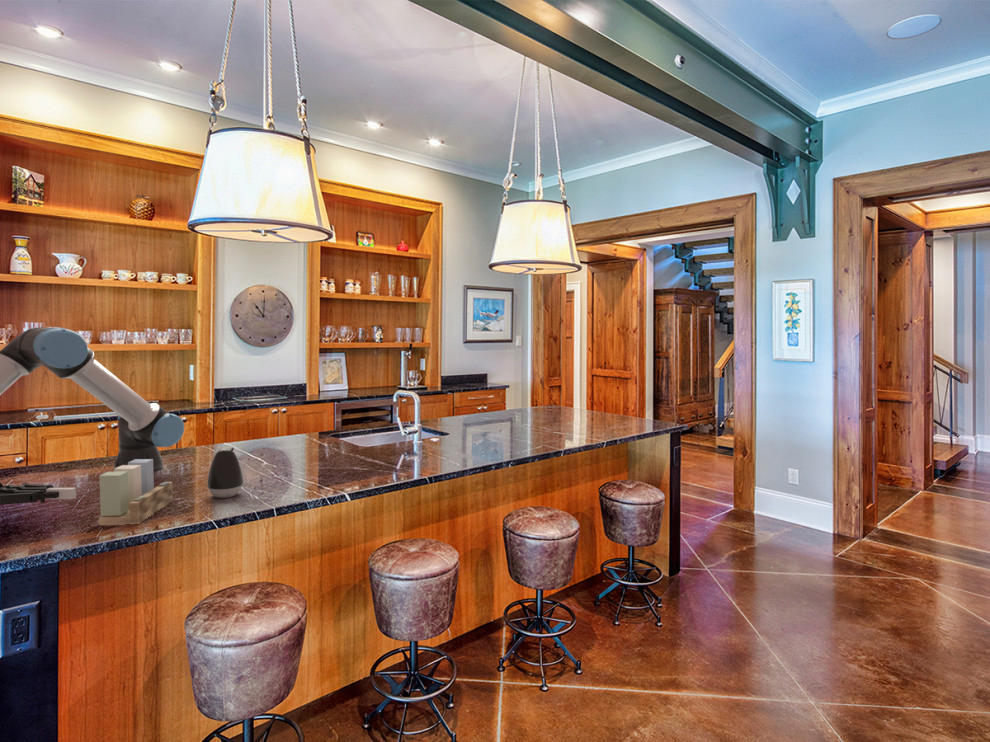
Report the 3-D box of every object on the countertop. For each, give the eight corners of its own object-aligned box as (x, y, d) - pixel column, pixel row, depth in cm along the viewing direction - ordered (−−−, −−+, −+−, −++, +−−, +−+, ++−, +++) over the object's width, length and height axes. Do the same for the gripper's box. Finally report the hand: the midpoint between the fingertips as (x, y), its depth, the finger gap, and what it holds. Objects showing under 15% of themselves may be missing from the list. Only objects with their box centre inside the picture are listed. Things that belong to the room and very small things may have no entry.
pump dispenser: (249, 490, 179) (248, 445, 177) (234, 500, 168) (234, 452, 167) (217, 490, 178) (216, 444, 177) (201, 500, 168) (200, 451, 167)
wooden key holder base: (138, 501, 166) (137, 480, 165) (172, 501, 167) (172, 480, 166) (98, 525, 146) (97, 502, 145) (138, 524, 147) (137, 501, 146)
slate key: (136, 495, 164) (135, 459, 164) (154, 494, 165) (153, 459, 164) (129, 499, 160) (127, 462, 160) (147, 499, 161) (146, 462, 160)
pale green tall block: (109, 510, 151) (108, 471, 150) (128, 510, 151) (127, 471, 150) (100, 515, 147) (99, 475, 146) (120, 515, 147) (119, 475, 146)
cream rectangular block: (123, 502, 158) (122, 465, 157) (142, 502, 158) (140, 465, 157) (115, 507, 154) (114, 468, 153) (134, 506, 154) (133, 468, 153)
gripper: (-3, 500, 151) (89, 499, 154) (-43, 516, 138) (58, 515, 141) (-4, 473, 151) (88, 473, 153) (-45, 487, 138) (57, 486, 140)
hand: (74, 493), depth 147 cm, fingers closed
